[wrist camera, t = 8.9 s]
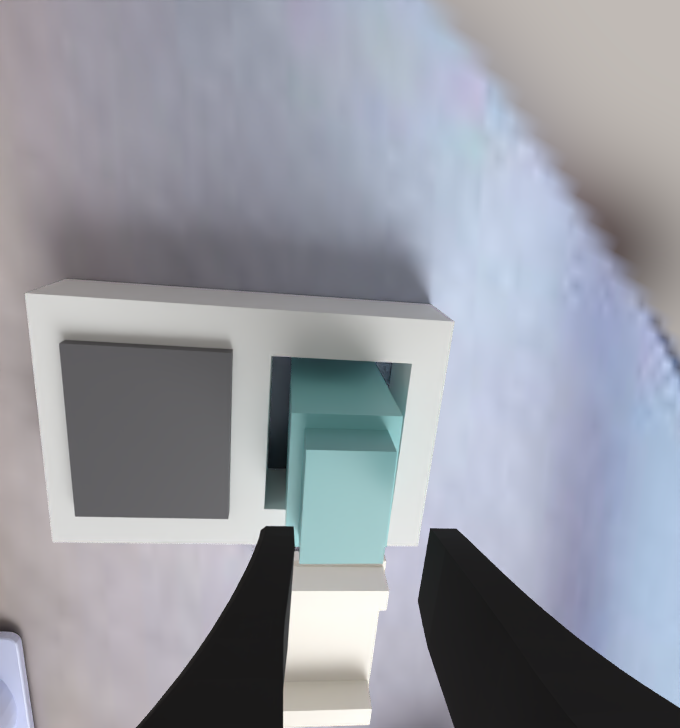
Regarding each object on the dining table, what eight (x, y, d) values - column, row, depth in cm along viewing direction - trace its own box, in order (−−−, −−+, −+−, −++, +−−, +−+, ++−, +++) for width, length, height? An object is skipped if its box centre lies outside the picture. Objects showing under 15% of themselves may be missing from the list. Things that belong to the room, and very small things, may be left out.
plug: (286, 462, 20) (284, 577, 14) (291, 357, 19) (291, 433, 13) (363, 463, 20) (394, 576, 14) (374, 360, 19) (413, 437, 13)
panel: (84, 496, 20) (47, 550, 17) (66, 278, 17) (17, 295, 14) (401, 502, 21) (420, 553, 18) (431, 304, 18) (458, 324, 15)
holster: (263, 690, 24) (261, 733, 22) (270, 550, 21) (268, 584, 19) (364, 688, 24) (370, 729, 23) (383, 551, 22) (392, 585, 20)
